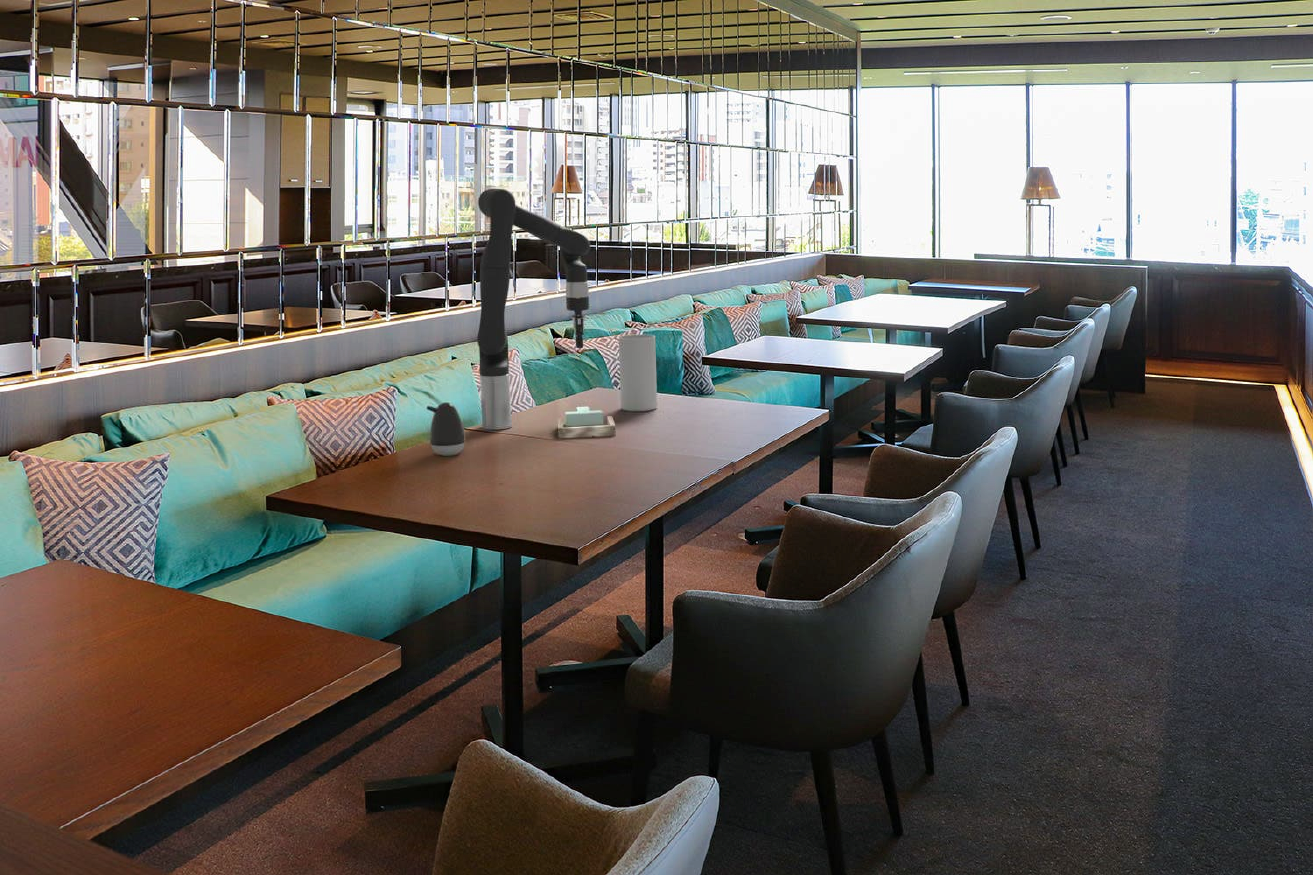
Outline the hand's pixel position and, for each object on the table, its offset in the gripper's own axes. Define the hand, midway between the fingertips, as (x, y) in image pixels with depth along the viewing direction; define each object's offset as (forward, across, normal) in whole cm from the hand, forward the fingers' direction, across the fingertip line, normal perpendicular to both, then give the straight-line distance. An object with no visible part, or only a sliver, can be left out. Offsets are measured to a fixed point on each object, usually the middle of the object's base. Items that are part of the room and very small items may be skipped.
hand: (579, 346), depth 370 cm
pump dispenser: (+24, +51, -41) cm, 70 cm away
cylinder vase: (+24, -8, +20) cm, 32 cm away
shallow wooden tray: (+23, +28, 0) cm, 36 cm away
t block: (+23, +12, 0) cm, 26 cm away
